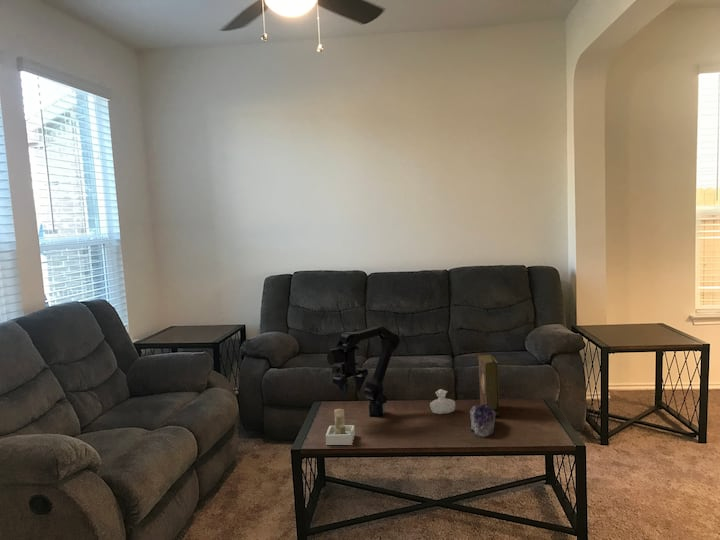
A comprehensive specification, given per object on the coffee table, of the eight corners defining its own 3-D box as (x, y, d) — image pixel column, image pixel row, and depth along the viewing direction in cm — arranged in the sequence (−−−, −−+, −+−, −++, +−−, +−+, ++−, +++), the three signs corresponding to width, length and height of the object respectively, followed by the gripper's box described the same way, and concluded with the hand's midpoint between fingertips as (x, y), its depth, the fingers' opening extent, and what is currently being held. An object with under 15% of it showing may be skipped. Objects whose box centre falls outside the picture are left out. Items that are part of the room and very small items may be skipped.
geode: (500, 439, 216) (496, 415, 215) (471, 442, 219) (467, 418, 218) (497, 418, 236) (493, 397, 235) (471, 421, 239) (467, 400, 238)
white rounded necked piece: (455, 415, 251) (450, 392, 258) (458, 409, 245) (453, 386, 251) (430, 417, 250) (426, 394, 257) (432, 412, 244) (428, 388, 250)
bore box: (354, 435, 228) (354, 425, 227) (352, 445, 217) (351, 435, 217) (330, 436, 229) (329, 425, 228) (326, 446, 218) (325, 435, 218)
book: (479, 405, 256) (477, 354, 254) (491, 405, 256) (489, 353, 254) (487, 418, 240) (485, 363, 238) (499, 417, 239) (497, 362, 238)
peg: (347, 439, 224) (345, 408, 223) (343, 443, 220) (341, 412, 219) (338, 438, 226) (336, 408, 224) (334, 442, 222) (332, 411, 221)
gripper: (349, 354, 253) (351, 386, 254) (322, 363, 238) (324, 397, 240) (367, 356, 246) (369, 390, 247) (340, 366, 231) (342, 401, 233)
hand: (351, 394), depth 242 cm, fingers open, 9 cm apart
